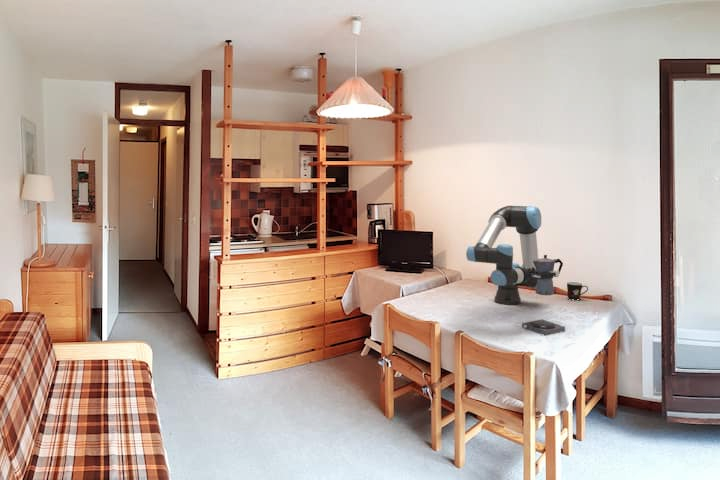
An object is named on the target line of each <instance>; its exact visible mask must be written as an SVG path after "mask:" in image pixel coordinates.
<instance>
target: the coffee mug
mask: <svg viewBox="0 0 720 480" xmlns="http://www.w3.org/2000/svg"><path fill="white" fill-rule="evenodd" d="M584 287H586V290H585V291H584V292H582V289H583V288H584ZM566 289H567V299H568V298H569V299H574V300H577V299H579V300H580V298H581V296H582V295H584V294H585V293H587V292H588V290H589V287H588V286H587V285H583V283H582V282H577V281H568V282H566ZM569 299H568V300H569Z"/></svg>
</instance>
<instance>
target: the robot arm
mask: <svg viewBox="0 0 720 480" xmlns="http://www.w3.org/2000/svg"><path fill="white" fill-rule="evenodd" d="M541 226H542V214H541V210H540V208H539V207H537V206H532V205H527V206H526V205H506V206H503V207H501V208H498V209H497V210H496V211H495V212H493V213H492V214H491V216H490V217H489V219H488V224H487V226H486V227H485V229H484V230H483V232H482V234H481V236H480V238H479V239H478V241H477V242H476V244H475V246H473V245H472V246H470V245H469V246H468V247H467V250H466V253H465V254H466V259H467V261H468V262H474V263H485V264H494V265H495V270H493V271H492V272H491V274H490V280H491V282H492V284H493V285H494V286H497V290H496V294H495V296H494V302H495V303H497V304H501V305H508V306H510V305H511V306H512V305H520V304H521V302H522V301H521V295H520V291H519V287H523V288H531V289H536V285H537V279H548V278H549V279H551V278H552V279H554V278H557V277H556V276H558V277H559V276H560V274H559V271H558V270H553V271H550V272H537V270H536V267H535V265H534V263H533V261H534V260H536V259H539V251H538V250H539V249H538V242H537V241H538V240H537V239H538V238H537V231H538V230H539V229H540V227H541ZM506 228H515V231H516V233H517V234H519V240H520V250H521V257H522V259H521V260H522V265H521V266H520V263H517V262H513V261H514V260H513V259H514V248H513V247H514V246H513V245H511V244H501V243H500V244H497V246H496V247H494V245H495V243H496V240H498V238H499V236H500V234H501V232H502V231H503V230H504V229H506Z"/></svg>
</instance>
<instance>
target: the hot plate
mask: <svg viewBox="0 0 720 480" xmlns="http://www.w3.org/2000/svg"><path fill="white" fill-rule="evenodd" d="M523 327H524V328H523ZM521 328H523V329H526V330H529V331H531V330H532V332H534V333H537V332H538V333H537V334H540V333H541V334H540V335H542V334H544V335H543V336H547V334H548V335H552V334H551V333H553V334H556V333H555V332H558V333H561V332H560V331H562V332H565V331H566V326H563V325H560V324H557V323H555V322H552V321H548V320H545V319H539V320H538V319H537V320H532V321H527V322H522V323H521ZM564 330H565V331H564Z"/></svg>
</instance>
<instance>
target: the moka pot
mask: <svg viewBox="0 0 720 480" xmlns="http://www.w3.org/2000/svg"><path fill="white" fill-rule="evenodd" d="M547 257H548V255H547V254H544V255H543V257H542V258H538V259H536V260H534V261H533V263H534V265H535V267H536V270H537V272H550V271H555V264H558V263H559V266H558V270H557V271H559V275H560V273H561V270H562V267H563V265H564V263H563V262H562V259H560V258H557V259H556V258H555V259H554V258H553V259H552V258H547ZM558 277H559V276H556V277H555V278H558ZM535 294H537V295H540V296H551V295H554V294H555V289H554V280H553V278H551V279H549V278H548V279H537V285H536V288H535Z"/></svg>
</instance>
